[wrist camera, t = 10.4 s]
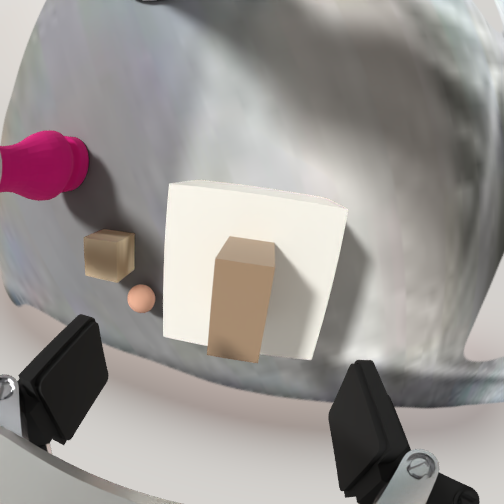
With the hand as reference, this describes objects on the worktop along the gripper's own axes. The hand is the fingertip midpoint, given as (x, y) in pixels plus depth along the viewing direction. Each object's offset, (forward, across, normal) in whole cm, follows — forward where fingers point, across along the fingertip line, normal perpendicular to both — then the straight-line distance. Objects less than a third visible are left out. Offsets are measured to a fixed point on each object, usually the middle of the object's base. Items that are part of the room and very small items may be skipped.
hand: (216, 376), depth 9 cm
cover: (+19, 0, +1) cm, 19 cm away
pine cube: (+19, +14, +3) cm, 24 cm away
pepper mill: (+20, +21, -6) cm, 30 cm away
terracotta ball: (+19, +10, +8) cm, 23 cm away
